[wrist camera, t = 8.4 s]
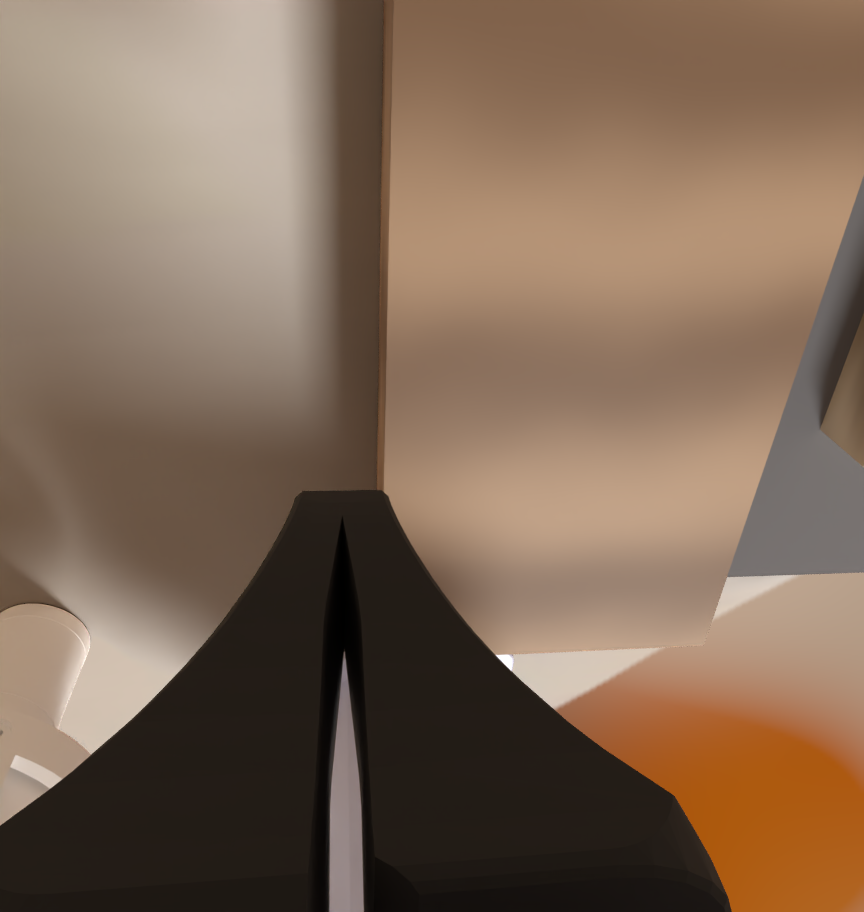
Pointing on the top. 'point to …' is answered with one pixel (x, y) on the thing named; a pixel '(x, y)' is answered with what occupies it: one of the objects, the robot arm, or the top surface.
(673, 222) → the walnut deck
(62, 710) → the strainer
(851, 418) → the birch tile
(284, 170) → the top surface
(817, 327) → the rubber mat
